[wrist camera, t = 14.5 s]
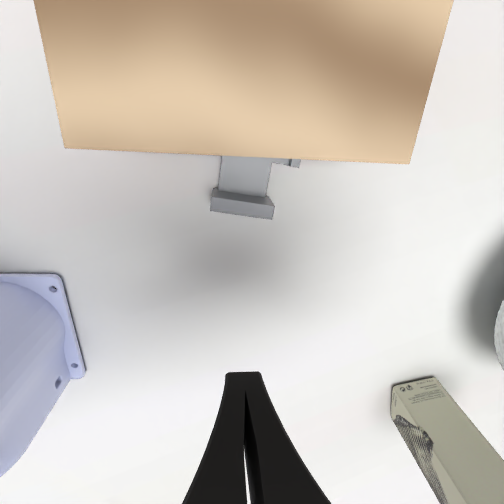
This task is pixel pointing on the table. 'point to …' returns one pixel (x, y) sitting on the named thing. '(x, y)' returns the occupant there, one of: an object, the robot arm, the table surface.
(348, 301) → the table surface
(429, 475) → the box
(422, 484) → the table surface
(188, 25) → the small wooden stool
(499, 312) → the cereal bowl
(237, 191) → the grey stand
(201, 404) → the table surface
